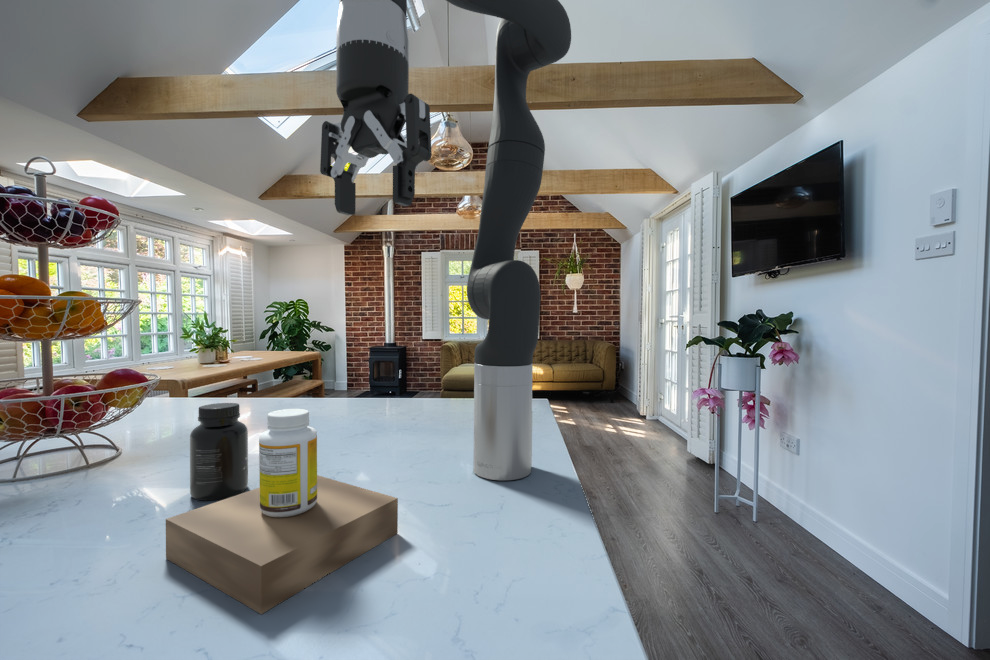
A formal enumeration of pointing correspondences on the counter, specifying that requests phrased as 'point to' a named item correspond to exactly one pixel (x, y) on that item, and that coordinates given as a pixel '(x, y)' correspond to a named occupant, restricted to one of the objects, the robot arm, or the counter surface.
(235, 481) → the supplement bottle
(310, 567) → the walnut block
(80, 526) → the counter surface
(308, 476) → the supplement bottle
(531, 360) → the robot arm
